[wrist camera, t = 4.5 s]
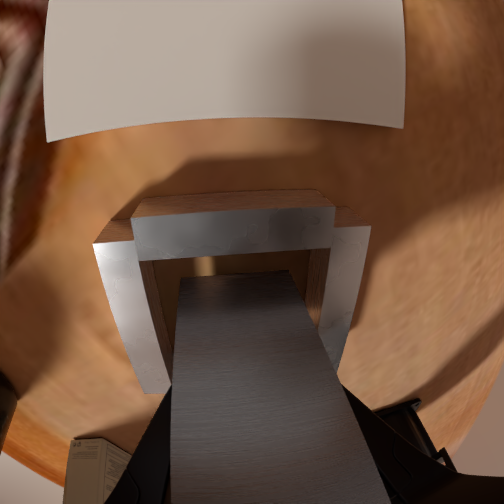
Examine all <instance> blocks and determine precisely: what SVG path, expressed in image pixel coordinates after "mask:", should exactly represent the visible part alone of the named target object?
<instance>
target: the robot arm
mask: <svg viewBox="0 0 504 504" xmlns="http://www.w3.org/2000/svg"><path fill="white" fill-rule="evenodd" d="M341 385H342V384H341ZM342 387H343V390H344V392H345V394H346V397H347V399H348V401H349V403H350V406H351V408H352V410H353V413H354V415H355V417H356V420H357V422H358V424H359V427H360V429H361V431H362V434H363V436H364V438H365V441H366V443H367V445H368V448H369V450H370V453H371V455H372V457H373V460H374V462H375V465H376V467H377V470H378V472H379V474H380V477H381V479H382V482H383V484H384V487H385V489H386V492H387V494H388V497H389V499H390V502H391V504H504V477H493V476H477V475H466V474H462V473H458V472H457V470H456V468H455V466H454V464H453V462H452V460H451V459H450V457H449V455H448V453H447V451H446V449H445V447H443V448H442V449H441V450H439V452H437V450H436V448H435V447H434V445H433V443H432V441H431V439H430V437H429V435H428V433H427V432H426V430H425V428H424V426H423V424H422V422H421V421H420V419H419V417H418V415H417V413H416V412H415V411H416V410H417V408H418V407H419V406H420V404H421V403H422V402H421V400H420V398H418V399H415V400H413V401H410V402H407V403H404V404H402V405H399V406H396V407H393V408H390V409H387V410H384V411H381V412H378V413H374V412H373V411H371V410H370V409H369V408H368V407H367V406H366V405H365V404H363V403H362V402H361V401H360V400H359V399H358V398H357V397H355V396H354V395H353V394H352V393H351V392H350V391H349V390H348V389H346V388H345V387H344V386H343V385H342ZM171 399H172V384H171V385H170V387H169V389H168V390H167V392H166V394H165V396H164V398H163V400H162V401H161V403H160V405H159V407H158V409H157V411H156V412H155V414H154V416H153V418H152V420H151V422H150V424H149V425H148V427H147V429H146V431H145V433H144V435H143V436H142V438H141V440H140V442H139V444H138V446H137V448H136V449H135V451H134V453H133V455H132V457H131V459H130V461H129V462H128V464H127V466H126V468H127V469H125V470H124V472H123V473H122V475H121V477H120V479H119V481H118V482H117V484H116V486H115V488H114V489H113V491H112V492H111V494H110V495H109V497H108V498H107V499H106V501H105V502H104V504H171V466H170V440H171ZM443 462H445V464H446V465H445V466H444V465H443V464H441V463H443Z"/></svg>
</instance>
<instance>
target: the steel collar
mask: <svg viewBox="0 0 504 504" xmlns="http://www.w3.org/2000/svg"><path fill="white" fill-rule="evenodd" d="M370 231H371V225H370V224H368V223H367V222H366V221H365V220H364V219H362V218H361V217H360V216H359V215H358V214H356V213H355V212H354V211H353V210H351V209H350V208H349V207H336V206H335V205H333V204H332V203H331V202H330V201H329V200H328V199H326V198H325V197H324V196H323V195H322V194H321V193H319V192H318V191H317V190H316V189H304V190H264V191H240V192H221V193H205V194H190V195H177V196H165V197H154V198H144V199H142V201H141V202H140V204H139V205H138V207H137V209H136V210H135V212H134V214H133V215H132V217H131V219H124V220H114V221H109V222H108V223H107V225H106V226H105V227H104V229H103V230H102V231H101V233H100V234H99V236H98V237H97V238H96V240H95V241H94V243H93V247H94V251H95V255H96V259H97V263H98V267H99V270H100V274H101V277H102V281H103V284H104V288H105V291H106V294H107V297H108V301H109V304H110V307H111V310H112V313H113V316H114V319H115V322H116V325H117V327H118V330H119V333H120V336H121V338H122V341H123V344H124V346H125V349H126V352H127V354H128V357H129V359H130V362H131V364H132V366H133V369H134V371H135V374H136V376H137V378H138V381H139V383H140V385H141V387H142V390H143V392H144V394H161V393H166V392H167V390H168V389H169V387H170V385H171V384H172V377H173V360H174V354H173V352H172V348H171V344H170V340H169V336H168V332H167V328H166V324H165V320H164V315H163V311H162V306H161V302H160V297H159V292H158V287H157V282H156V277H155V272H154V267H153V261H152V260H160V259H175V258H190V257H204V256H219V255H233V254H247V253H262V252H276V251H290V250H305V249H311V250H310V260H309V269H308V278H307V287H306V296H305V306H306V308H307V310H308V312H309V315H310V317H311V319H312V321H313V323H314V325H315V328H316V330H317V332H318V334H319V336H320V338H321V341H322V343H323V345H324V347H325V349H326V352H327V354H328V356H329V358H330V361H331V363H332V365H333V367H334V369H335V372H336V373H337V370H338V367H339V363H340V360H341V357H342V353H343V350H344V346H345V343H346V339H347V336H348V332H349V328H350V324H351V321H352V317H353V313H354V309H355V304H356V300H357V296H358V292H359V287H360V283H361V278H362V273H363V269H364V264H365V259H366V254H367V248H368V243H369V237H370Z"/></svg>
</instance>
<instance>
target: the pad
mask: <svg viewBox="0 0 504 504" xmlns="http://www.w3.org/2000/svg"><path fill="white" fill-rule="evenodd" d="M405 73H406V67H405V32H404V17H403V6H402V0H49V5H48V12H47V21H46V31H45V45H44V110H45V125H46V136H47V142H51V141H56V140H60V139H64V138H68V137H73V136H78V135H82V134H87V133H93V132H98V131H104V130H109V129H115V128H122V127H128V126H136V125H143V124H151V123H160V122H170V121H181V120H194V119H210V118H238V117H278V118H305V119H322V120H335V121H346V122H355V123H364V124H372V125H380V126H387V127H393V128H400V129H403V126H404V109H405Z"/></svg>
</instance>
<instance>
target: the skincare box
mask: <svg viewBox="0 0 504 504" xmlns="http://www.w3.org/2000/svg"><path fill="white" fill-rule="evenodd" d="M131 457H132V455H130V454H128V453H126V452H125V451H123V450H121V449H120V448H118V447H116V446H115V445H113V444H111V443H110V442H108V441H106V440H105V439H103V438H98V439H83V440H71V443H70V449H69V455H68V462H67V469H66V477H65V486H64V495H63V504H104V502H105V501H106V499H107V498H108V497H109V495H110V494H111V492H112V491H113V489H114V488H115V486H116V484H117V482H118V481H119V479H120V477H121V475H122V473H123V472H124V470H125V469H127V468H126V466H127V464H128V462H129V461H130V459H131Z"/></svg>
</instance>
